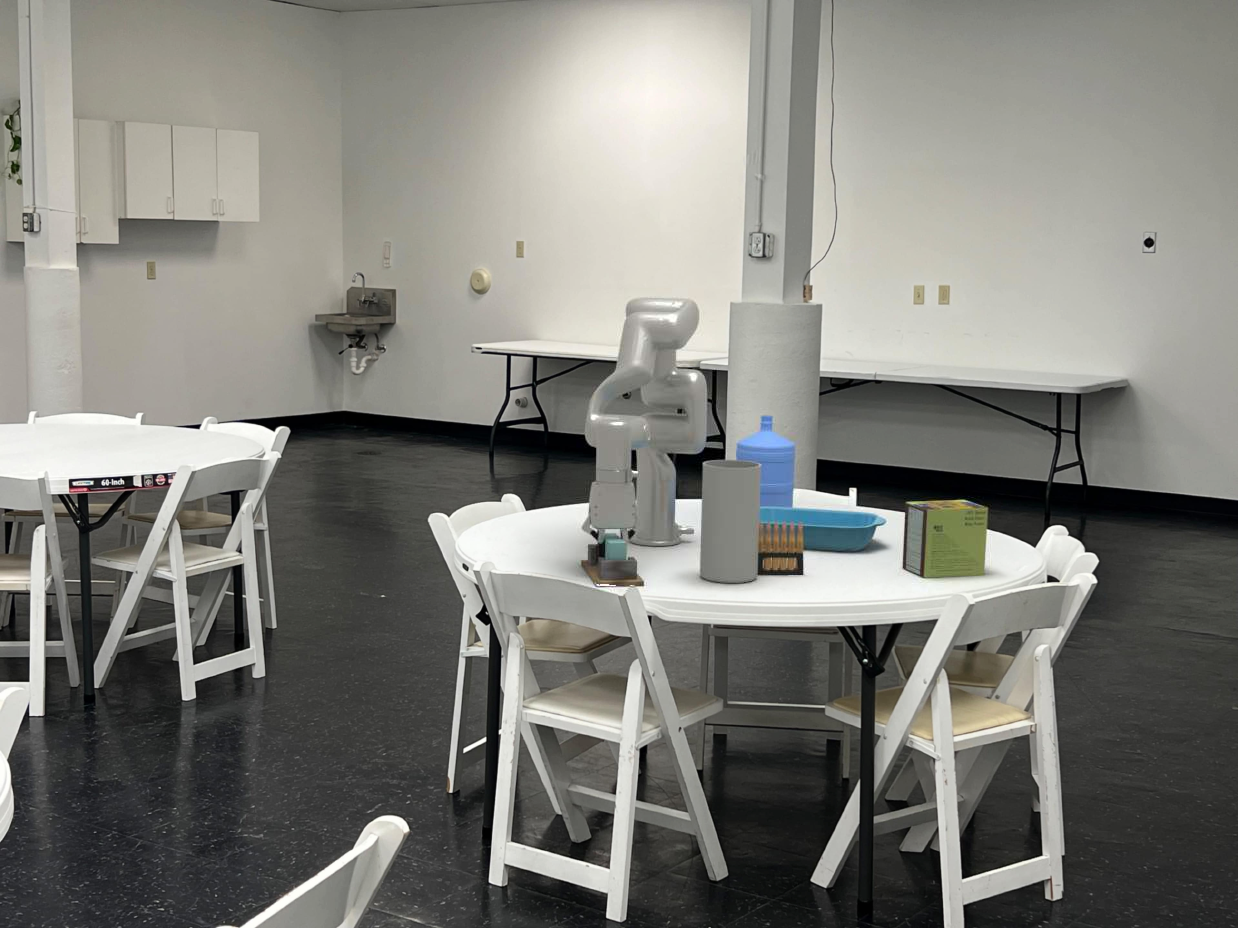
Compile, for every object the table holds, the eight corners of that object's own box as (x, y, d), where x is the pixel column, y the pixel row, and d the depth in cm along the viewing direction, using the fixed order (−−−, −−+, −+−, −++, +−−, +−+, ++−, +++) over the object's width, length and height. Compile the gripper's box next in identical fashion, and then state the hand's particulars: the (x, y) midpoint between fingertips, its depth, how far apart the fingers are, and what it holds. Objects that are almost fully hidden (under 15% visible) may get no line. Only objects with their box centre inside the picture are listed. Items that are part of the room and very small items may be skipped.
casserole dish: (726, 546, 340) (726, 517, 339) (745, 529, 361) (746, 502, 360) (878, 558, 329) (880, 528, 328) (889, 540, 350) (891, 512, 349)
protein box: (985, 575, 312) (989, 507, 310) (923, 578, 308) (927, 509, 305) (961, 565, 322) (964, 499, 320) (900, 568, 317) (904, 501, 315)
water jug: (804, 522, 372) (809, 417, 368) (759, 527, 363) (763, 420, 359) (766, 513, 385) (770, 411, 380) (722, 518, 376) (725, 414, 372)
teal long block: (614, 559, 311) (614, 533, 311) (626, 570, 298) (626, 542, 297) (598, 560, 311) (598, 533, 310) (609, 571, 297) (609, 543, 296)
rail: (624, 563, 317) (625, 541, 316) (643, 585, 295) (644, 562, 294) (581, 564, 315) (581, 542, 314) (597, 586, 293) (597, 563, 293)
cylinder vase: (724, 568, 313) (728, 458, 310) (768, 578, 305) (772, 464, 301) (687, 576, 304) (690, 463, 301) (732, 586, 296) (736, 470, 292)
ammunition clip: (755, 575, 308) (757, 521, 306) (754, 573, 309) (755, 520, 308) (803, 575, 308) (805, 522, 306) (801, 573, 310) (804, 520, 308)
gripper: (647, 473, 307) (645, 555, 310) (572, 474, 304) (571, 557, 307) (654, 479, 300) (652, 562, 302) (578, 479, 297) (576, 564, 299)
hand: (611, 559), depth 305 cm, fingers closed on teal long block, 3 cm apart
